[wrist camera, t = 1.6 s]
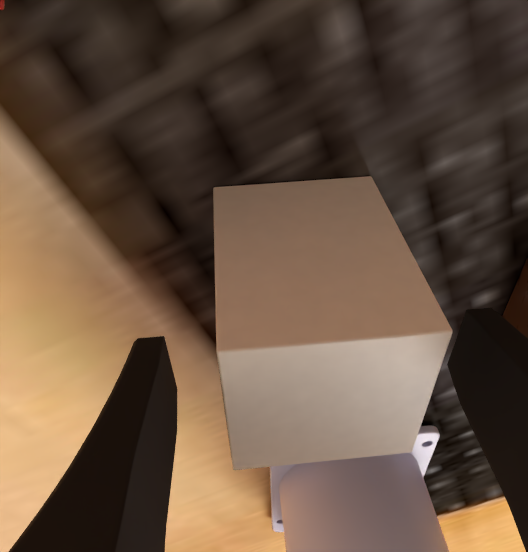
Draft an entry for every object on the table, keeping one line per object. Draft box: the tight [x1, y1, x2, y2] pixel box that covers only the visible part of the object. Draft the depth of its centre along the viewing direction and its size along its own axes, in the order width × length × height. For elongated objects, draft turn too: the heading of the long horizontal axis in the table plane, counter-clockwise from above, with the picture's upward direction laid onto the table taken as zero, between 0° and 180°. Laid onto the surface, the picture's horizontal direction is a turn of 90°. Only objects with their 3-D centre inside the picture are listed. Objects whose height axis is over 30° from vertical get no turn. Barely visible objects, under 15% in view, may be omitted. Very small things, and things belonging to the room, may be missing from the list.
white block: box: [213, 176, 452, 470], centre depth 13 cm, size 4×4×6 cm
